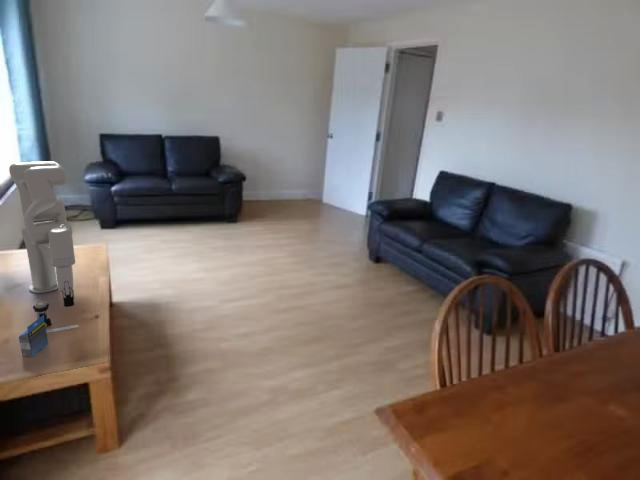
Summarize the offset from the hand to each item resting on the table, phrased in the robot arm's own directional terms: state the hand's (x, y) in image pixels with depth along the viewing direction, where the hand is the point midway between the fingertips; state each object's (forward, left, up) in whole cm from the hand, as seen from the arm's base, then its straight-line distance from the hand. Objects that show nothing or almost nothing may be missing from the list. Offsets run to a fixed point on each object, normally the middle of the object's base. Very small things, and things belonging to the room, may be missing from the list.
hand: (69, 303), depth 163 cm
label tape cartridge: (+11, -12, -11) cm, 20 cm away
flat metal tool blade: (0, -5, -11) cm, 12 cm away
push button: (-5, -10, -11) cm, 16 cm away
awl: (0, 0, -1) cm, 1 cm away
